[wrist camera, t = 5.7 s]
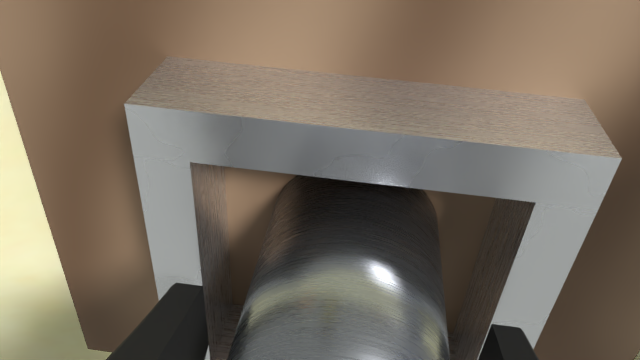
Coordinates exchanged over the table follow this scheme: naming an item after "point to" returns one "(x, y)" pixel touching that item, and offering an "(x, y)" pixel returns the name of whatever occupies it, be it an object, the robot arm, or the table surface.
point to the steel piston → (346, 277)
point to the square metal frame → (369, 174)
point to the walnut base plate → (264, 187)
